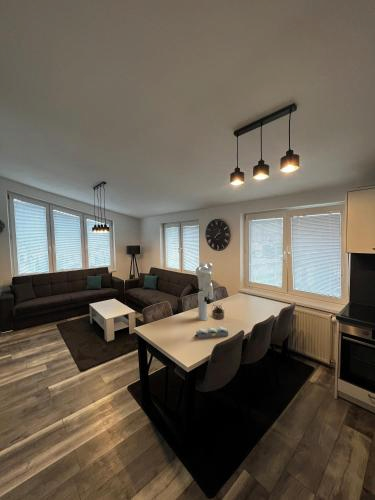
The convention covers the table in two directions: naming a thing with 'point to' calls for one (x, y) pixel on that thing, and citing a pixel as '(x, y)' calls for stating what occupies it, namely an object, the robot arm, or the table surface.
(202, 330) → the rocker
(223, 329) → the rocker
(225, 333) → the power strip
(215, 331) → the rocker
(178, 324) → the table surface
